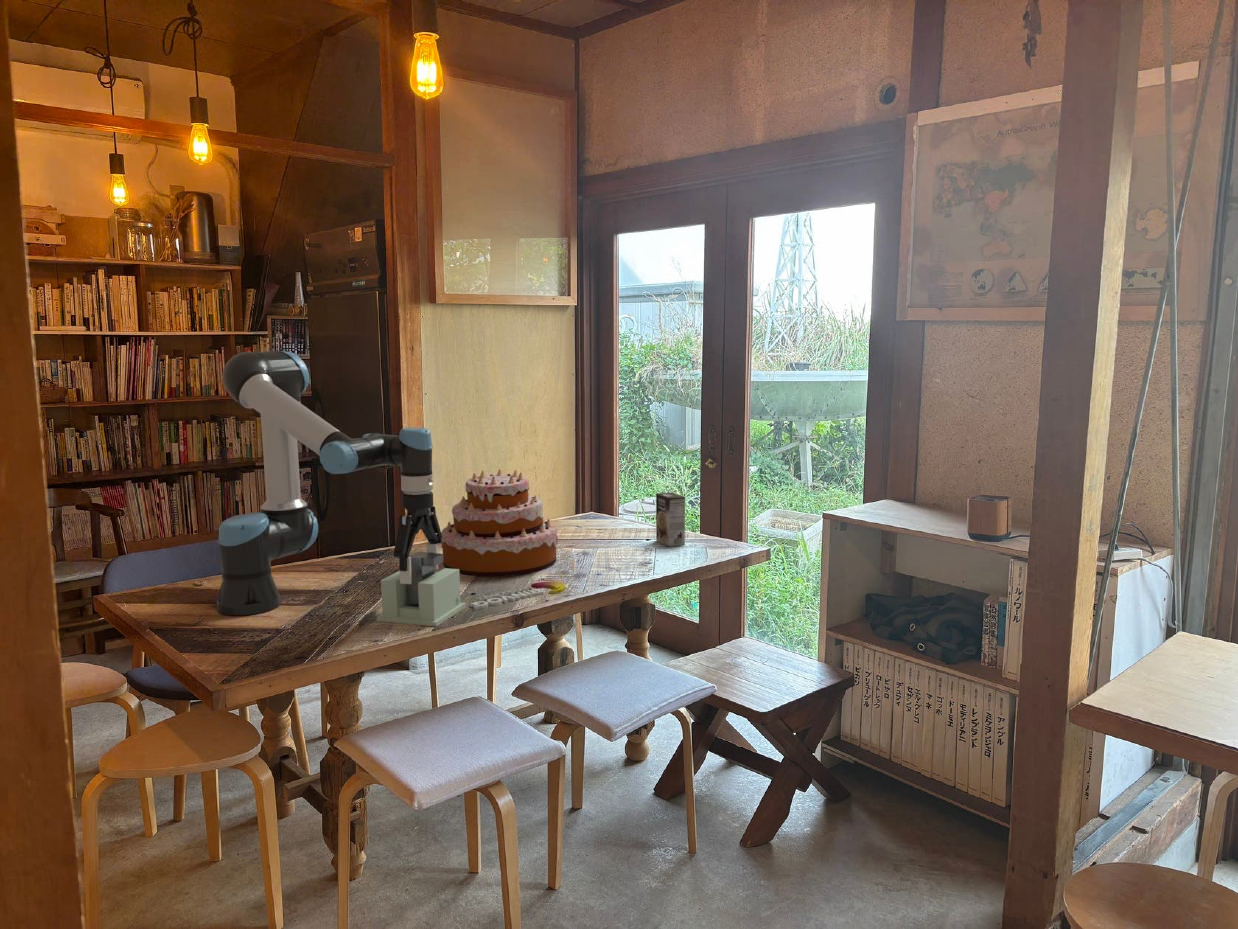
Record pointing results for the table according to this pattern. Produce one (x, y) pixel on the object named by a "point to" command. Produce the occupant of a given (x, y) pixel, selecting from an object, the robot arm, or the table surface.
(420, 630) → the table surface
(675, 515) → the instant coffee box
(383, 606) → the green slotted holder
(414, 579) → the stepped grey block
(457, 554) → the cake
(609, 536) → the table surface
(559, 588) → the logo
